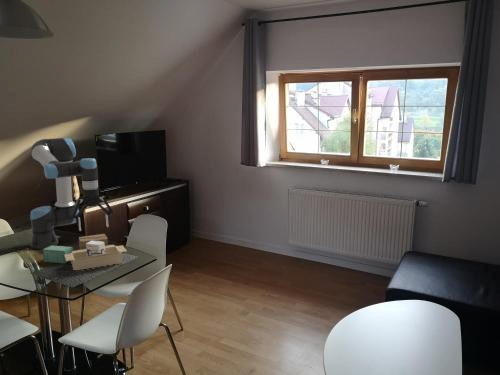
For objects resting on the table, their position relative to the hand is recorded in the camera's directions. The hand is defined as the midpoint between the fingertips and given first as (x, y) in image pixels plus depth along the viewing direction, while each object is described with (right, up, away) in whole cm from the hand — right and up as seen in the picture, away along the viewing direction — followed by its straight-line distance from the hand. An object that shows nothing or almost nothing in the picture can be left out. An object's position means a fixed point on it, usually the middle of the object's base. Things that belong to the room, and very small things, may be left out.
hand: (94, 228), depth 218 cm
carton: (0, -19, +4) cm, 19 cm away
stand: (-6, -17, +18) cm, 25 cm away
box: (-22, -19, +9) cm, 30 cm away
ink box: (0, -19, +4) cm, 20 cm away
